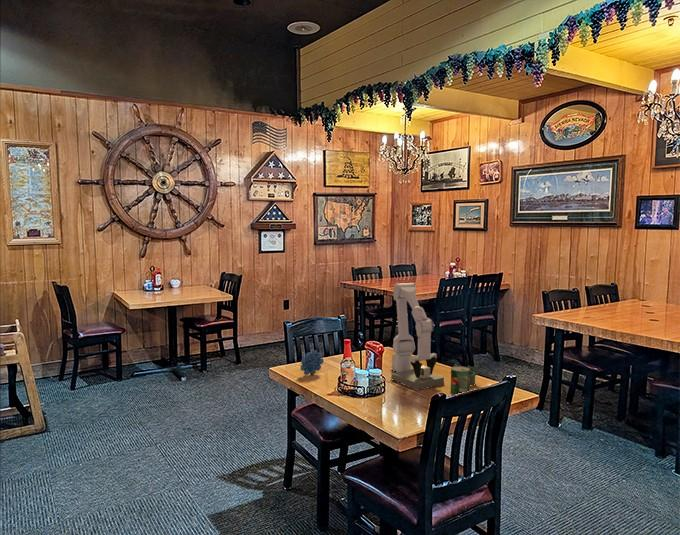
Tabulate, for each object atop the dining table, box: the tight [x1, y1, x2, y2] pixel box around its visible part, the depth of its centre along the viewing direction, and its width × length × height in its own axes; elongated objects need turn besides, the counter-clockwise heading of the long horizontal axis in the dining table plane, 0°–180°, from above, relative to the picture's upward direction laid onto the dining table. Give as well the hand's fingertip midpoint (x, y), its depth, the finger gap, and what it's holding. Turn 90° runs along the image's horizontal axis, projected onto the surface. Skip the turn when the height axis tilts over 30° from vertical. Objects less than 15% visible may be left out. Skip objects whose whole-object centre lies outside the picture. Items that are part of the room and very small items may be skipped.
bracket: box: [453, 363, 479, 387], centre depth 229 cm, size 9×9×9 cm
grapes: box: [300, 350, 325, 376], centre depth 242 cm, size 12×7×12 cm, turn 109°
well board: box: [390, 368, 445, 391], centre depth 231 cm, size 18×16×3 cm
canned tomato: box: [450, 365, 471, 396], centre depth 215 cm, size 8×8×11 cm
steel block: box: [418, 365, 430, 380], centre depth 227 cm, size 4×4×8 cm
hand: (423, 375), depth 227 cm, fingers open, 7 cm apart
